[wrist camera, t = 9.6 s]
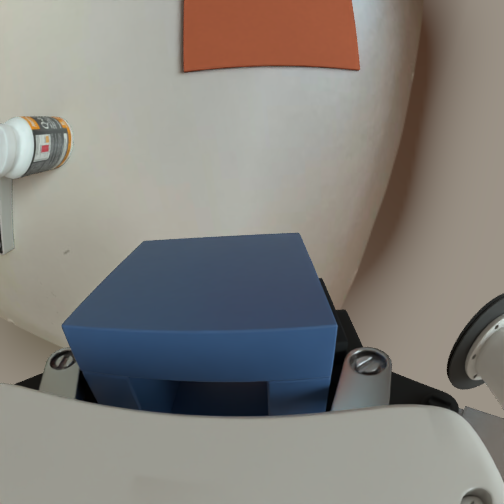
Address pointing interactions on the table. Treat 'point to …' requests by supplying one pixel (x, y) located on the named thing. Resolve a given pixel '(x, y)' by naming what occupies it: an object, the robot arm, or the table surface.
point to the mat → (269, 34)
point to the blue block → (209, 329)
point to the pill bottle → (33, 145)
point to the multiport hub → (6, 216)
